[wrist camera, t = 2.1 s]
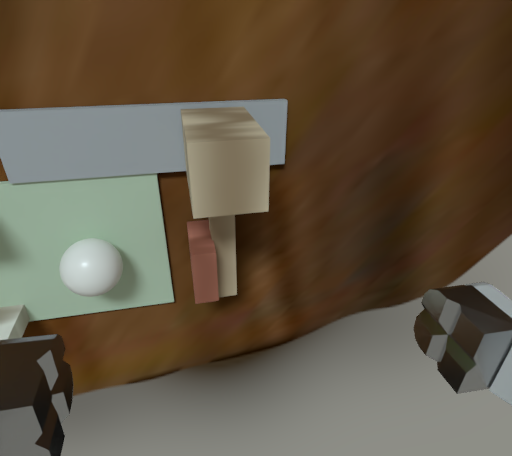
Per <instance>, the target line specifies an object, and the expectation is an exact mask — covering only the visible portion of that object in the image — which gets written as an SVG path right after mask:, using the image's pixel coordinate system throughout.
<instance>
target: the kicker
mask: <svg viewBox="0 0 512 456" xmlns="http://www.w3.org/2000/svg"><path fill="white" fill-rule="evenodd" d="M181 120H182V130H183V141H184V152H185V162H186V172H187V179H188V185H189V192H190V199H191V206H192V213H193V219H195V218H206V217H209V220H201V221H191V222H187V228H188V238H189V248H190V258H191V268H192V277H193V285H194V294H195V303H196V304H198V303H205V302H212V301H219V297H225V296H232V295H237V277H236V239H235V215H237V214H247V213H258V212H268V210H269V171H270V137H269V136H268V135H267V134H266V132H265V131H264V130H263V129H262V128H261V126H260V125H259V124H258V123H257V122H256V120H255V119H254V118H253V117H252V116H251V115H250V113H249V112H248V111H247V110H246V109H245V107H221V108H197V109H181Z"/></svg>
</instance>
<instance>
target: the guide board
mask: <svg viewBox="0 0 512 456" xmlns="http://www.w3.org/2000/svg"><path fill="white" fill-rule="evenodd" d="M221 107H245V109H246V110H247V111H248V112H249V113H250V115H251V116H252V117H253V118H254V119H255V120H256V122H257V123H258V124H259V125H260V126H261V128H262V129H263V130H264V131H265V132H266V134H267V135H268V136H269V137H270V165H276V164H285V144H286V123H287V100H286V99H266V100H240V101H215V102H189V103H163V104H137V105H111V106H85V107H59V108H33V109H7V110H0V158H1V160H2V163H3V166H4V169H5V172H6V175H7V177H8V180H9V183H10V184H13V183H27V182H41V181H55V180H68V179H82V178H96V177H110V176H124V175H138V174H151V173H165V172H179V171H186V162H185V152H184V141H183V130H182V120H181V109H197V108H221Z"/></svg>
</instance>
